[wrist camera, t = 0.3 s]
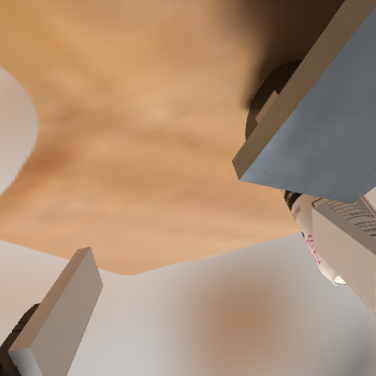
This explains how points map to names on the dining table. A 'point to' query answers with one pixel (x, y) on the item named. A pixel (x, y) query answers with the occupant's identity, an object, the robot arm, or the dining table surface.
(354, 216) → the supplement can
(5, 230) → the dining table surface
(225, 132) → the dining table surface
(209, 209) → the dining table surface
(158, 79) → the dining table surface
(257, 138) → the trolley
